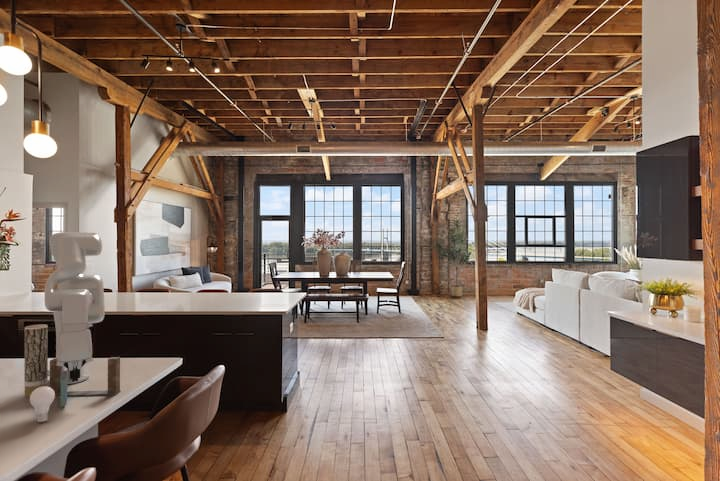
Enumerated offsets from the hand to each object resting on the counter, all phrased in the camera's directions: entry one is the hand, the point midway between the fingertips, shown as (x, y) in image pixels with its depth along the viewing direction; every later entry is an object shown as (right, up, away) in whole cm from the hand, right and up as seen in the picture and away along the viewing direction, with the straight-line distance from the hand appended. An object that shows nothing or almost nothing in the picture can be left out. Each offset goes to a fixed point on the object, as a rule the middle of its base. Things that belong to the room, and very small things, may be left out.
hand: (74, 380), depth 155 cm
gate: (-4, -7, +1) cm, 8 cm away
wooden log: (-19, -8, +7) cm, 22 cm away
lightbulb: (+1, -8, -17) cm, 19 cm away
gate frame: (-1, -8, +8) cm, 11 cm away
